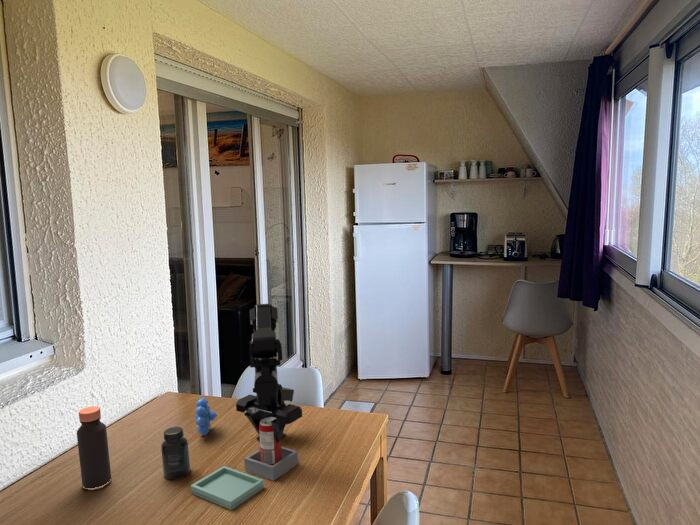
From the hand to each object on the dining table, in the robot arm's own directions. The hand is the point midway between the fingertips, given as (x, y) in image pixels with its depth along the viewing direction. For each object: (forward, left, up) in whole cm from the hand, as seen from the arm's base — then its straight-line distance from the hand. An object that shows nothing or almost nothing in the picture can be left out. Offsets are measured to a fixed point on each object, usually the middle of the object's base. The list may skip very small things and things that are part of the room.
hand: (270, 439), depth 140 cm
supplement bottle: (-20, -15, -8) cm, 26 cm away
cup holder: (0, 0, -8) cm, 8 cm away
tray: (-2, -14, -8) cm, 16 cm away
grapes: (-31, +5, -8) cm, 32 cm away
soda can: (0, 0, -7) cm, 7 cm away
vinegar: (-34, -29, -8) cm, 45 cm away
